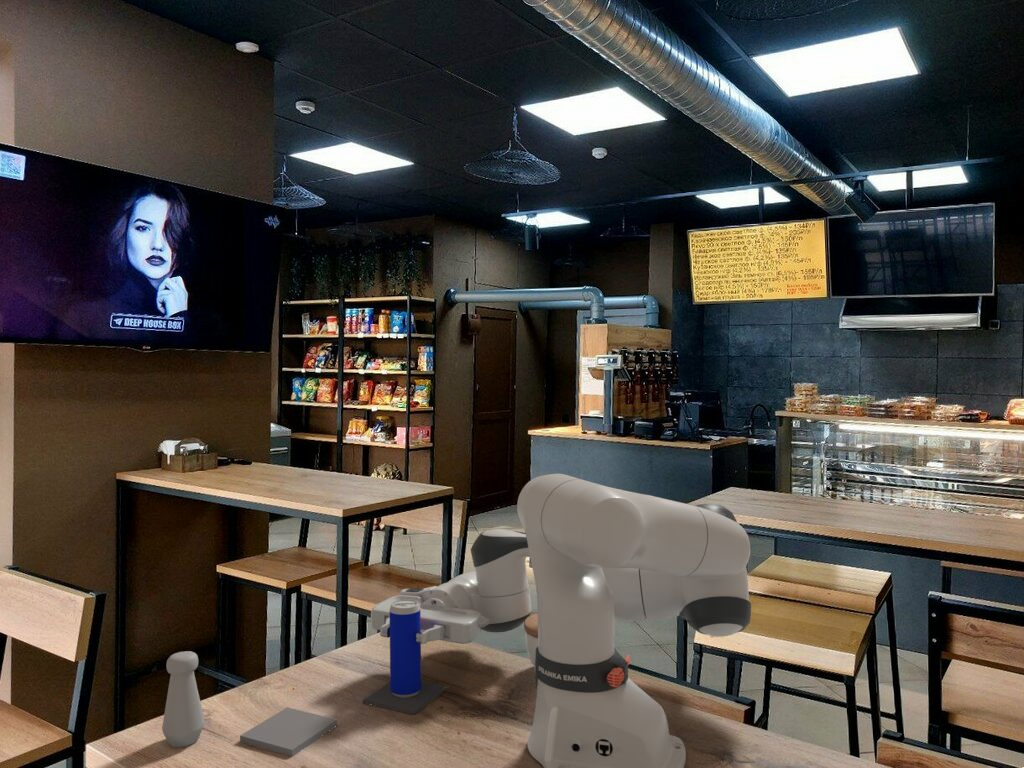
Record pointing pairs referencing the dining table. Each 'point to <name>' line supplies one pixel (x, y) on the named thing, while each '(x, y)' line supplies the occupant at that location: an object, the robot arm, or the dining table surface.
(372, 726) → the dining table surface
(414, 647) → the beverage can
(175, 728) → the salt shaker
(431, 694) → the rubber mat
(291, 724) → the ceramic tile
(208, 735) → the dining table surface
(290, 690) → the dining table surface
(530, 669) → the dining table surface
